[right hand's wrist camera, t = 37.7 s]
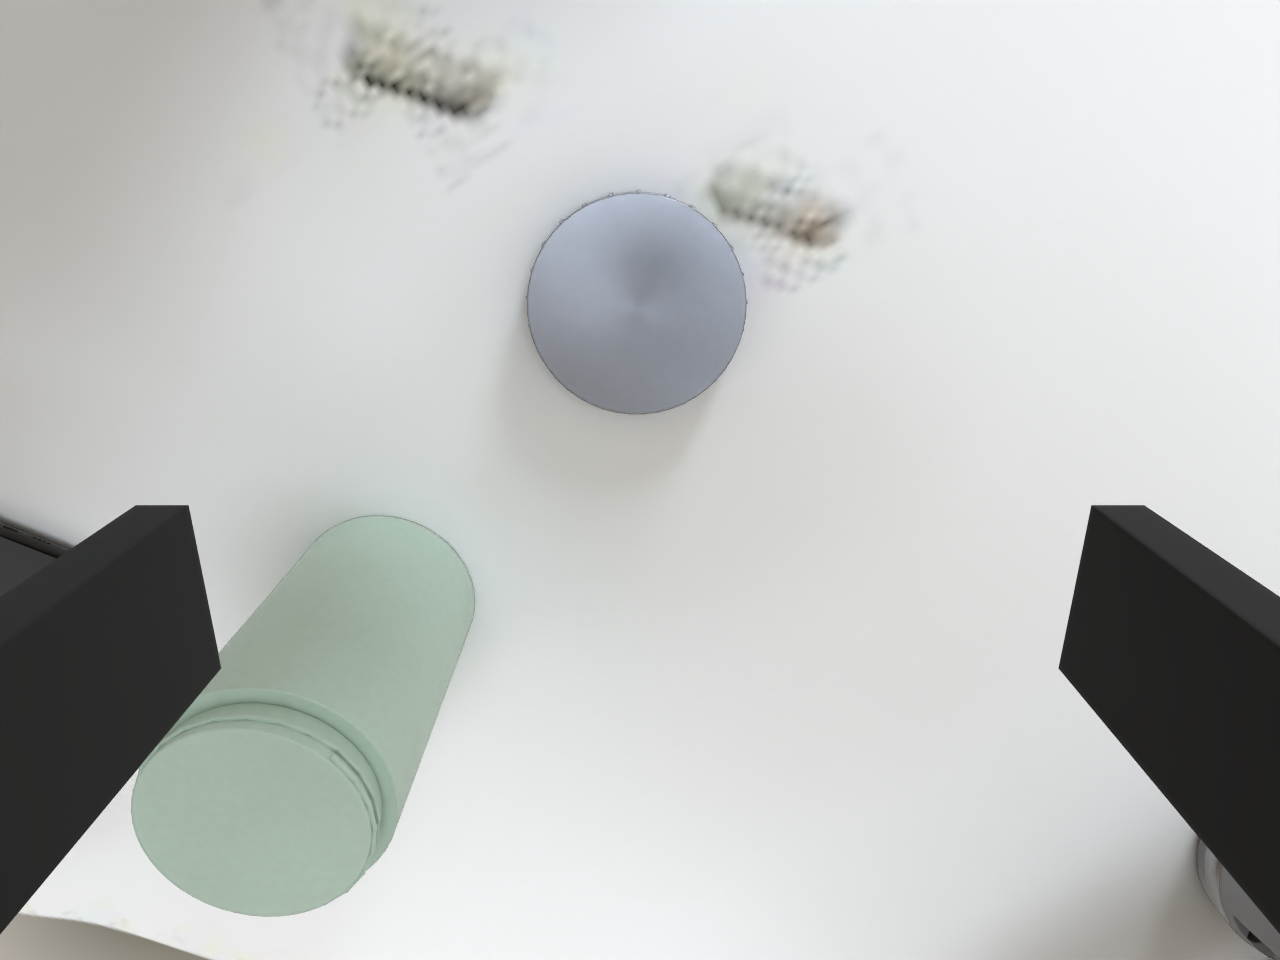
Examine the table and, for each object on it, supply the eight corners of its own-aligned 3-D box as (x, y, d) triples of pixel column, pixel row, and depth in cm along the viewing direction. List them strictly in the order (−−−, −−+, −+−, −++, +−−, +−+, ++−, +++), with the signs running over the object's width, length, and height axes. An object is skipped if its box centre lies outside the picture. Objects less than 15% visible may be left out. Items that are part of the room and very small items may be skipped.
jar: (378, 699, 45) (248, 966, 30) (261, 577, 42) (55, 801, 27) (510, 615, 43) (441, 853, 28) (396, 481, 40) (254, 666, 25)
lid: (783, 253, 37) (789, 257, 35) (682, 439, 40) (684, 450, 38) (586, 149, 35) (583, 148, 34) (497, 350, 38) (490, 358, 36)
